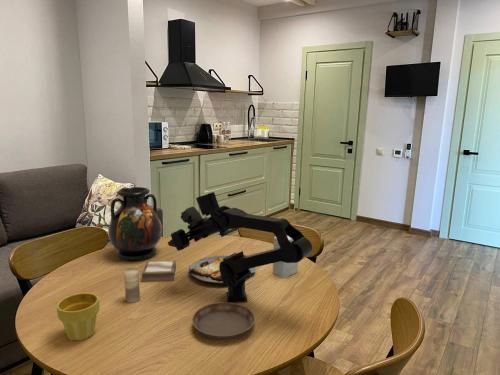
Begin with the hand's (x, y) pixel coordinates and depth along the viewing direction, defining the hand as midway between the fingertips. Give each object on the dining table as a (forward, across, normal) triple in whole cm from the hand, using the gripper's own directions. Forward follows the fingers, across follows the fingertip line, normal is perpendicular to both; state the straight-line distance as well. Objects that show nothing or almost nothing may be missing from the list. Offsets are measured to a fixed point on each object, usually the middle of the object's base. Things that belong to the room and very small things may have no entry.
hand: (177, 239), depth 132 cm
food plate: (-2, -12, +19) cm, 23 cm away
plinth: (+14, +1, +10) cm, 17 cm away
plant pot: (+8, +40, +12) cm, 43 cm away
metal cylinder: (+10, +19, +11) cm, 24 cm away
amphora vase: (+34, -9, 0) cm, 35 cm away
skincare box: (-21, -24, +29) cm, 43 cm away
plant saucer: (-20, +18, +27) cm, 38 cm away
